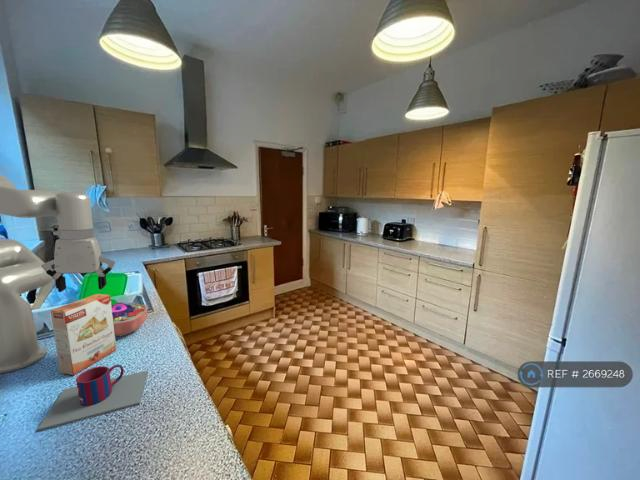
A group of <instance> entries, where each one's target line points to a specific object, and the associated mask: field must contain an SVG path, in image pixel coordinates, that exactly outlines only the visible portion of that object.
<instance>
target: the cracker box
mask: <svg viewBox="0 0 640 480" xmlns="http://www.w3.org/2000/svg"><path fill="white" fill-rule="evenodd" d="M111 306H112V299H111V295H110V294H102V293H101V294H100V293H95V294H93V295H90V296H87V297H85V298H82V299H79V300H76V301H73V302H71V303H67V304H65V305H62V306H61V305H60V306H58V307H56V308H52V309H51V310H50V317H51V322H52V329H53V330H52V331H53V335H54V342H55V349H56V354H57V362H58V367H59V369H58V370H59V373H60V374H66V375H71V376H75V375H77V374H79V373H80V372H82V371H84V370H86V369H87V368H89V367H90V366H92V365H93V364H96V363H97V362H98V361H101V360H102V359H104V358H106V357H107V356H109V355H110V354H112V353H114V352H116V351H117V346H116V345H117V344H116V335H115V334H114V325H113V316H112V307H111Z"/></svg>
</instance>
